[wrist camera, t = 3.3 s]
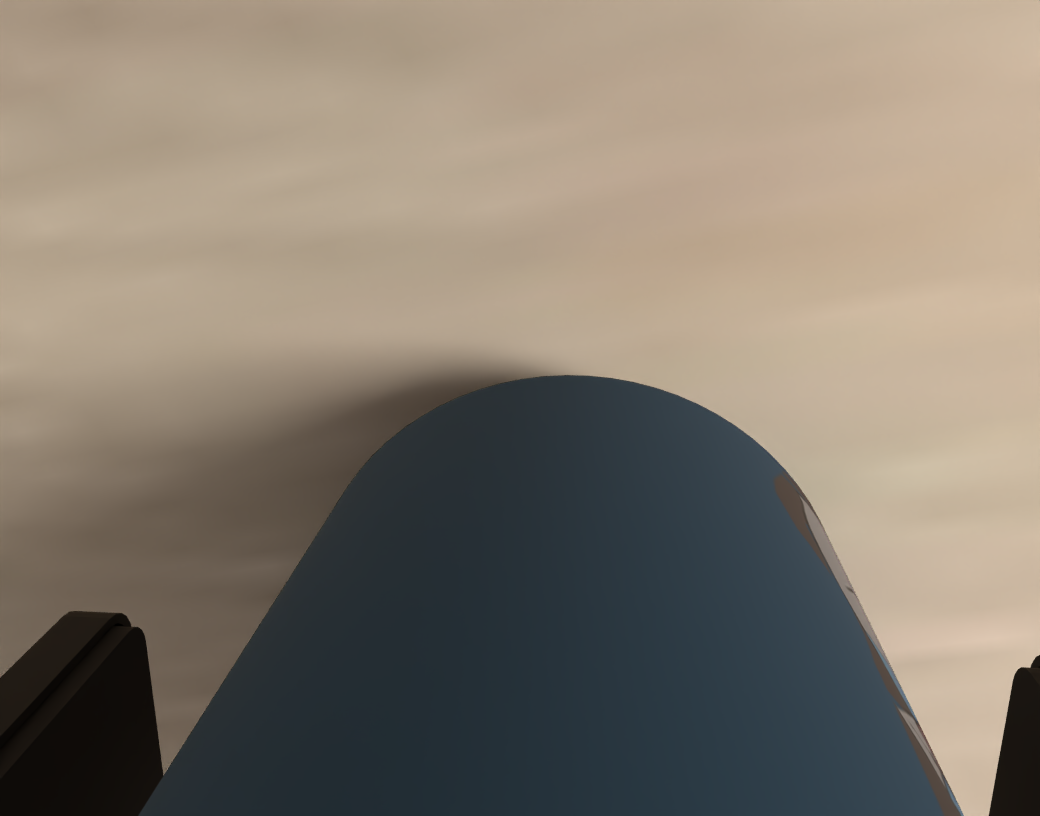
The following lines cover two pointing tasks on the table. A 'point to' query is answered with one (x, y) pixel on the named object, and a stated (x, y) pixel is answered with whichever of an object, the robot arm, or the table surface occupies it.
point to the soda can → (563, 634)
